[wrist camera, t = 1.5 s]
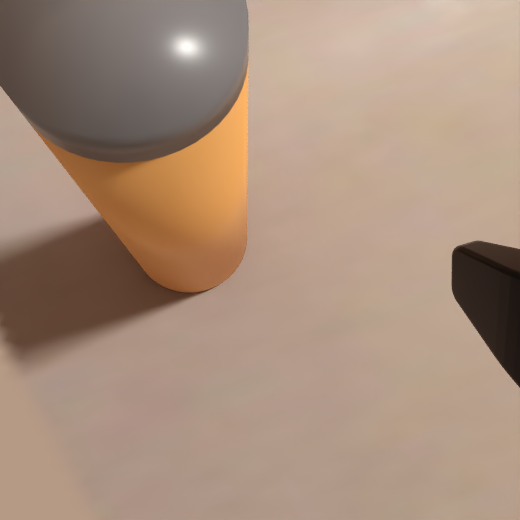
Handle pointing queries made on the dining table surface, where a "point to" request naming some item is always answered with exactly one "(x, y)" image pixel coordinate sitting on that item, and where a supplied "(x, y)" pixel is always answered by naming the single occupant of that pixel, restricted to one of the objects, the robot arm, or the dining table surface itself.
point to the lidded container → (143, 120)
